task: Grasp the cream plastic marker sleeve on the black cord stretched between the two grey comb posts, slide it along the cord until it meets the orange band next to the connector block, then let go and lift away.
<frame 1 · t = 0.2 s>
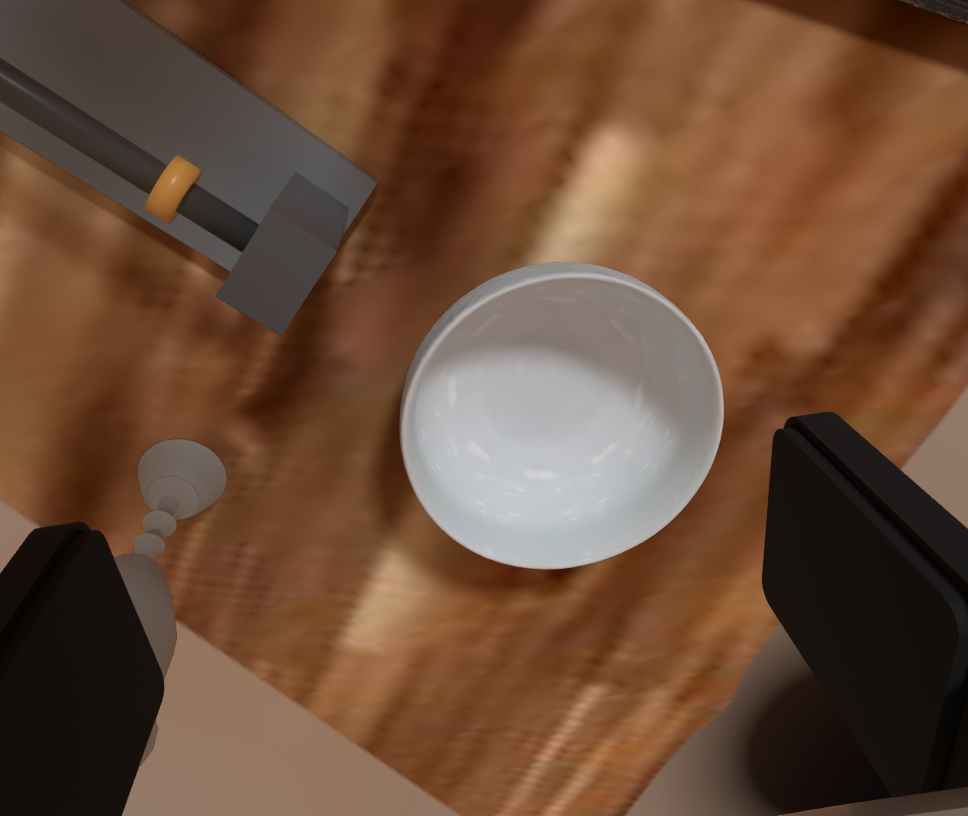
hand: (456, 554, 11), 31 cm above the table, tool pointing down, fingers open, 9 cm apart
cable comb: (70, 69, 34), on the table
chalice: (183, 474, 44), on the table
cereal bowl: (541, 378, 44), on the table
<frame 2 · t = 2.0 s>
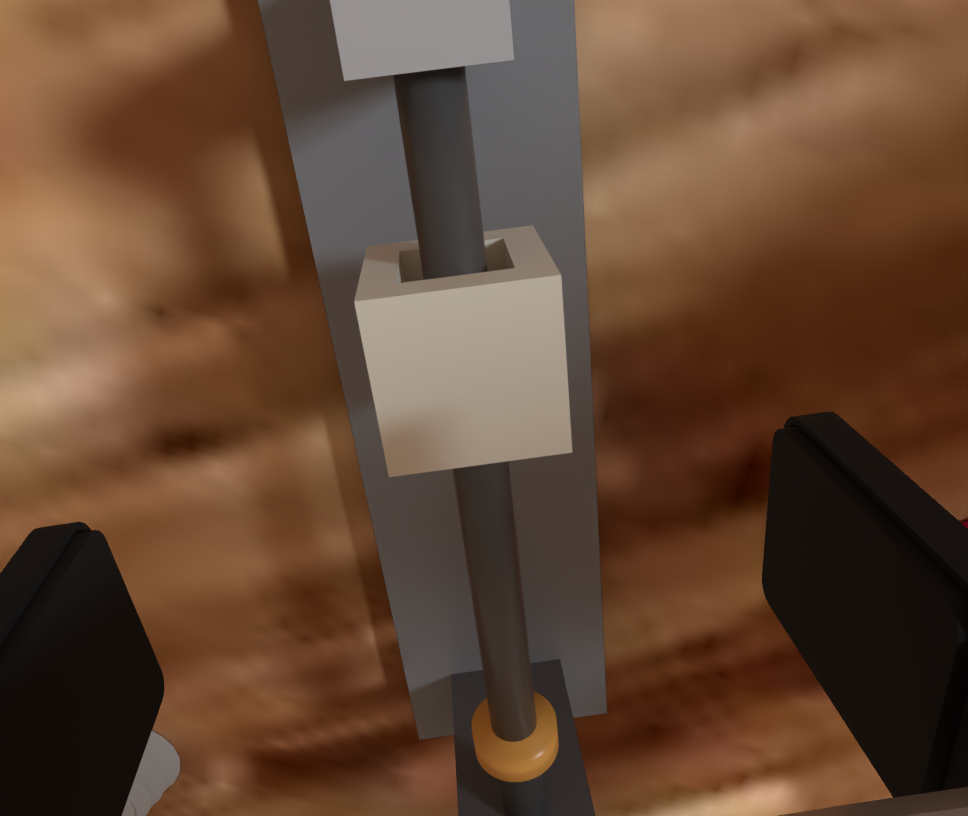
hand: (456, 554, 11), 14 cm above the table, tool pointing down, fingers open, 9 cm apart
cable comb: (474, 426, 26), on the table
sleeve: (464, 344, 17), point 7 cm above the table, slide at 0.0 cm
chalice: (120, 758, 32), on the table
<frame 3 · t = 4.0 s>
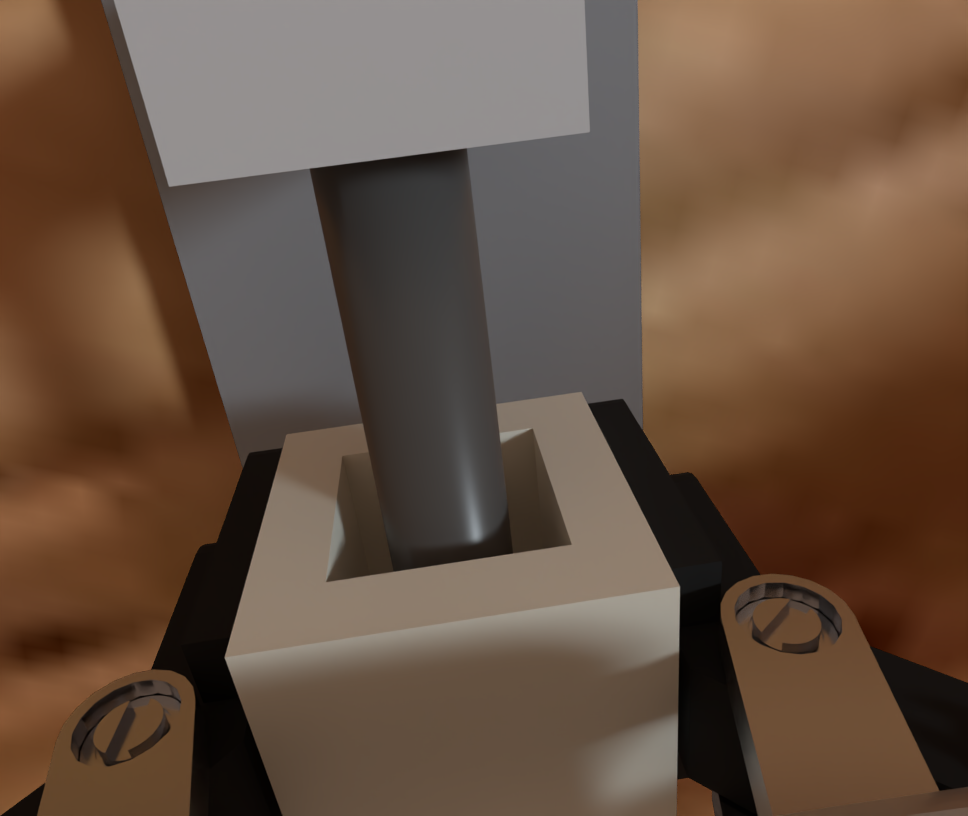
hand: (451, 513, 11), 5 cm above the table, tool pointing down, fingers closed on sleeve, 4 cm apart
cable comb: (471, 609, 18), on the table
sleeve: (464, 629, 9), point 7 cm above the table, slide at 0.0 cm, touching gripper
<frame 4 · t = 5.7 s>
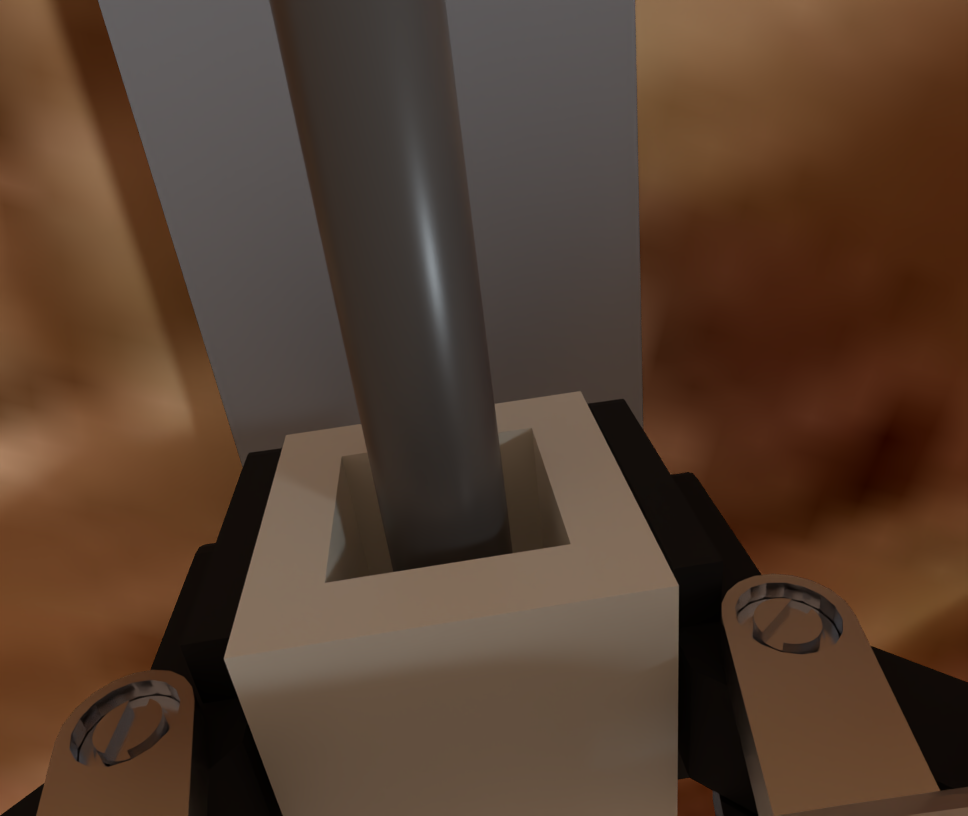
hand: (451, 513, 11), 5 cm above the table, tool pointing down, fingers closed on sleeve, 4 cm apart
cable comb: (436, 377, 15), on the table
sleeve: (464, 629, 9), point 7 cm above the table, slide at 6.2 cm, touching gripper
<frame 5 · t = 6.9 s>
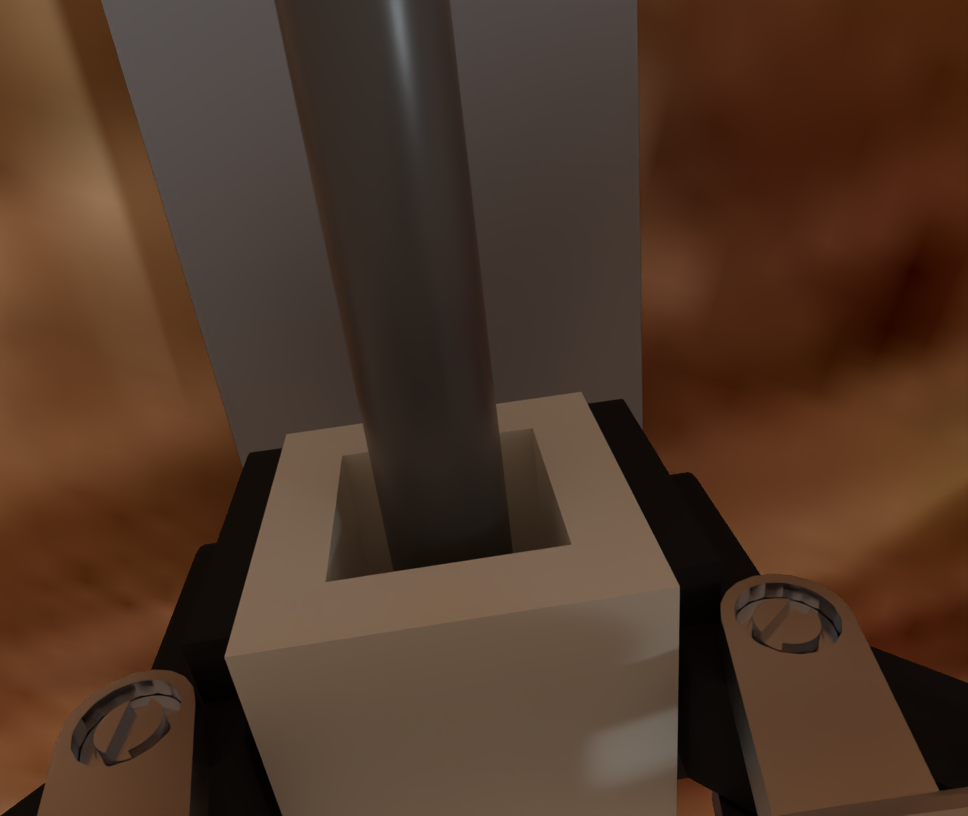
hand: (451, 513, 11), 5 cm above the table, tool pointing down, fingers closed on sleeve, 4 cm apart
cable comb: (405, 175, 13), on the table
sleeve: (464, 629, 9), point 7 cm above the table, slide at 10.3 cm, touching gripper
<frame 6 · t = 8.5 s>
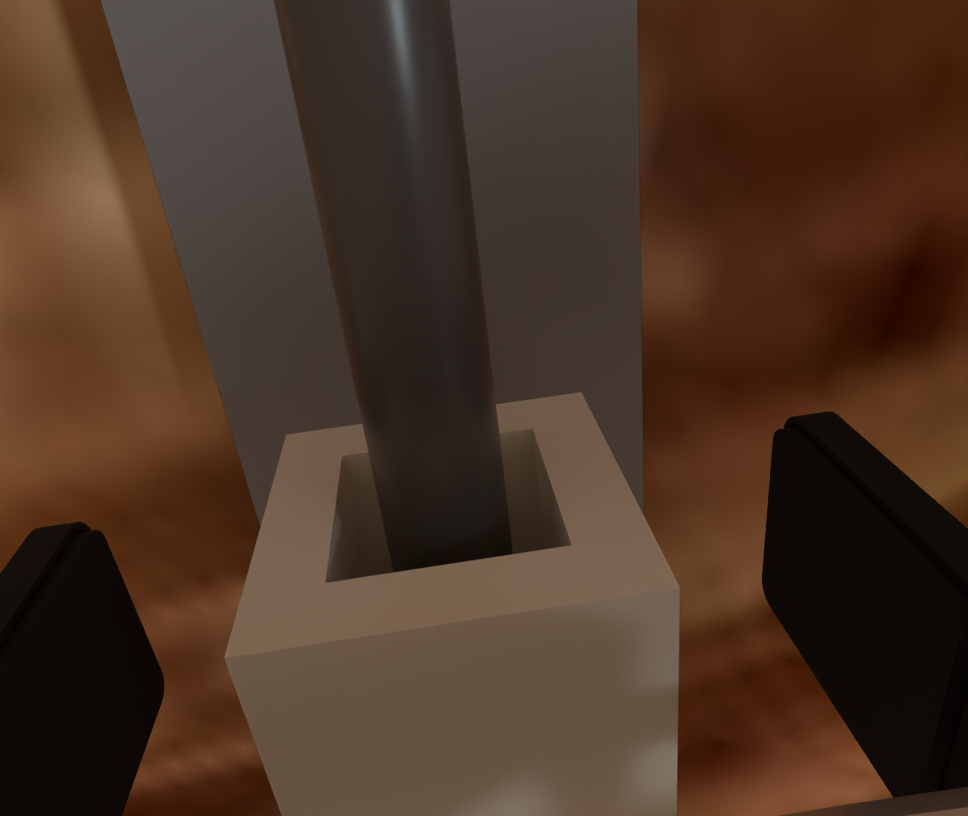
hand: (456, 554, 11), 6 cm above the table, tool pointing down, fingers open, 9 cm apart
cable comb: (405, 174, 13), on the table
sleeve: (464, 630, 9), point 7 cm above the table, slide at 10.3 cm
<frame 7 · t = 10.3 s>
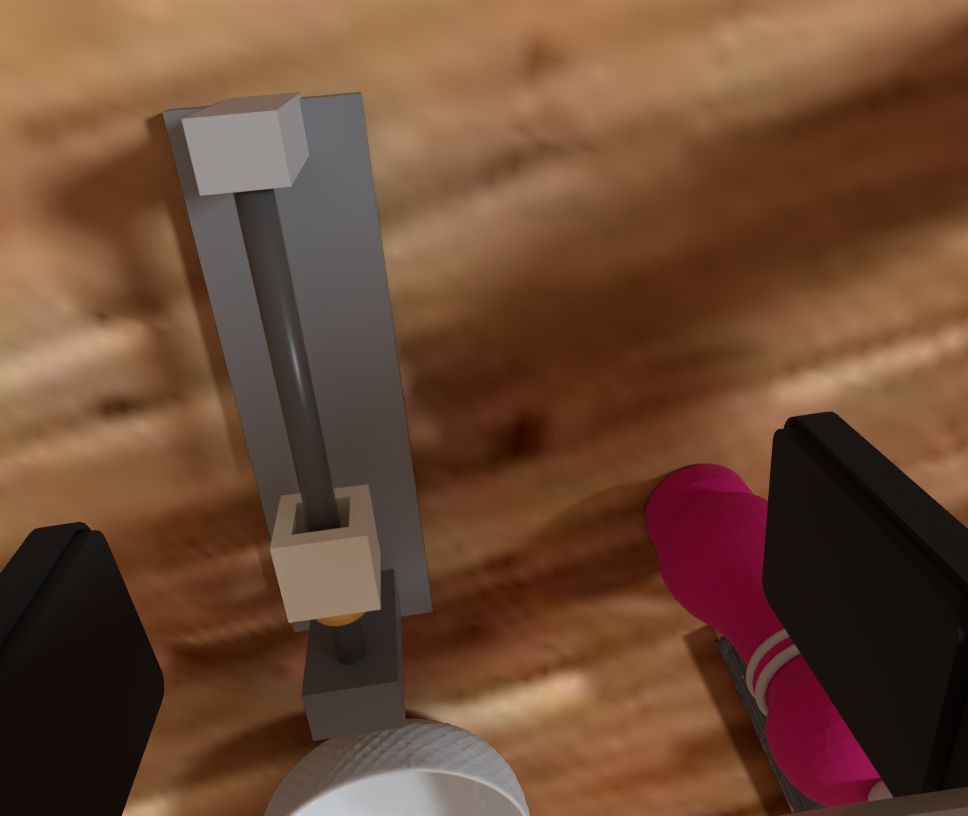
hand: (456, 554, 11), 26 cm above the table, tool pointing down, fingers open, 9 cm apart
cable comb: (323, 398, 38), on the table
sleeve: (329, 551, 34), point 7 cm above the table, slide at 10.3 cm
hardcover book: (852, 676, 53), on the table
pepper mill: (694, 506, 44), on the table
cereal bowl: (394, 765, 51), on the table
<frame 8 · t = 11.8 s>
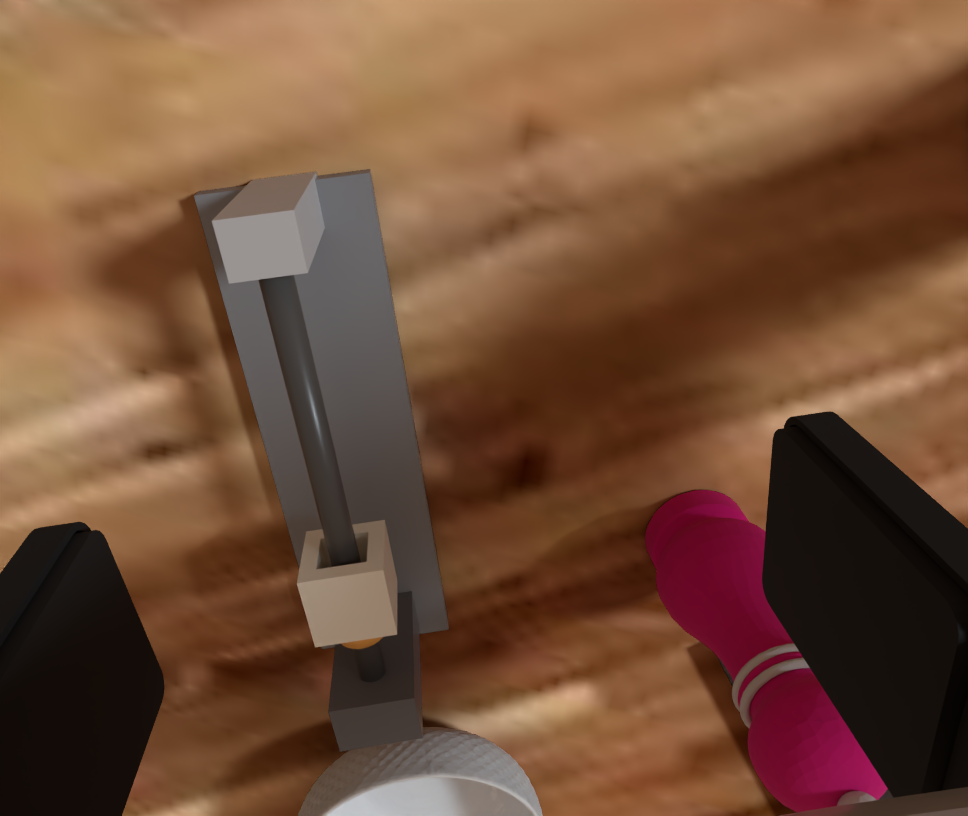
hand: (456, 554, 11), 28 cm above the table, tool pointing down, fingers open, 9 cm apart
cable comb: (343, 438, 41), on the table
sleeve: (350, 581, 37), point 7 cm above the table, slide at 10.3 cm
pepper mill: (691, 528, 47), on the table
cereal bowl: (418, 769, 54), on the table
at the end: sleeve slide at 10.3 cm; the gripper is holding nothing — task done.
